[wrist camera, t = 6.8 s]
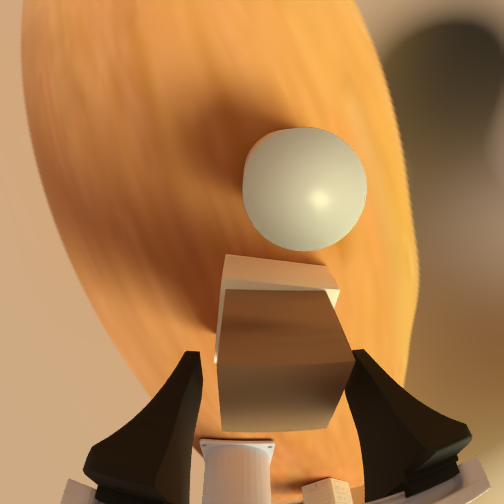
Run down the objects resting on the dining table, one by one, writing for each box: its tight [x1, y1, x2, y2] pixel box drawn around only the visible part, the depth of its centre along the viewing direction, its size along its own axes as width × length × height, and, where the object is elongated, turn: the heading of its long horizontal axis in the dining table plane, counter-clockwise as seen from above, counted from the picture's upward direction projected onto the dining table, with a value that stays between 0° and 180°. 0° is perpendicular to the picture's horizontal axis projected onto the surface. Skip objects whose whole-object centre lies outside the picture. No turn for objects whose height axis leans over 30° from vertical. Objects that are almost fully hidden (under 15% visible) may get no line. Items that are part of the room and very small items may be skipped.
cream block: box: [214, 254, 340, 363], centre depth 16 cm, size 6×6×3 cm
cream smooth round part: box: [242, 127, 367, 251], centre depth 12 cm, size 4×4×5 cm
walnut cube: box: [217, 289, 356, 432], centre depth 12 cm, size 5×5×5 cm
